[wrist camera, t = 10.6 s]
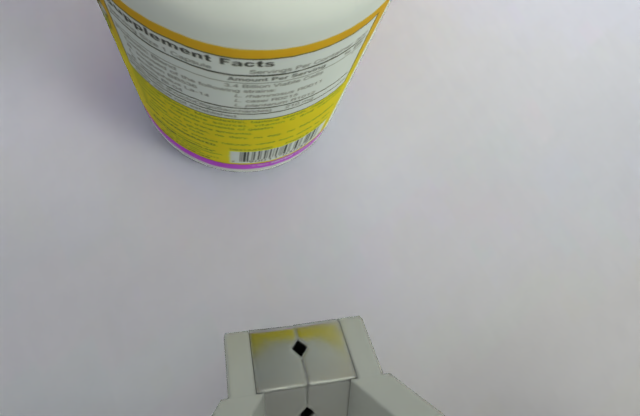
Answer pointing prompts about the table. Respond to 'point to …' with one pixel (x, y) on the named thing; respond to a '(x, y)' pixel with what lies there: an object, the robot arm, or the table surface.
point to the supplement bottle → (242, 71)
